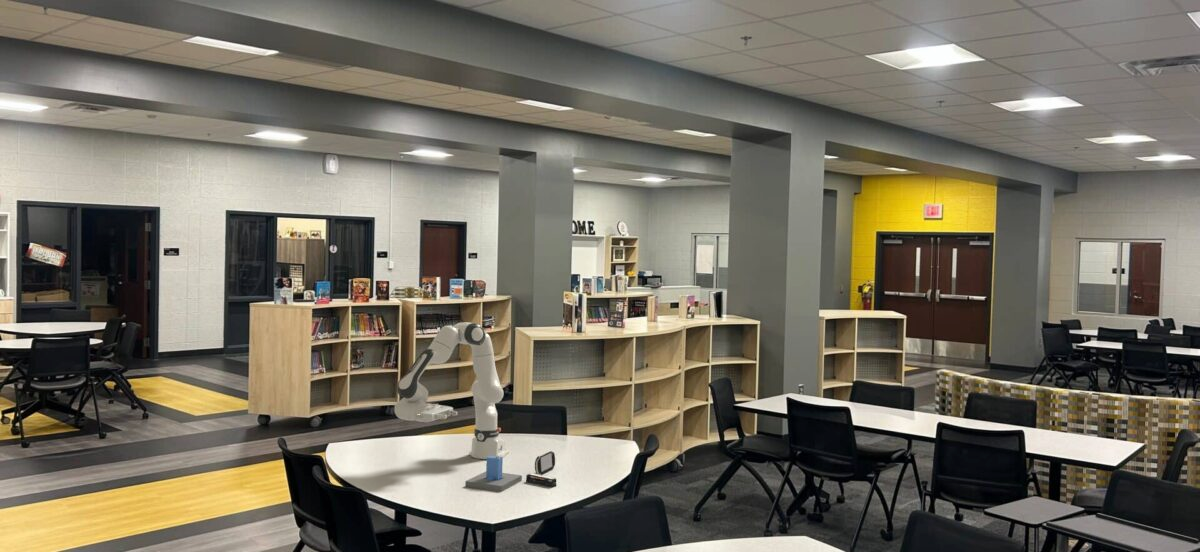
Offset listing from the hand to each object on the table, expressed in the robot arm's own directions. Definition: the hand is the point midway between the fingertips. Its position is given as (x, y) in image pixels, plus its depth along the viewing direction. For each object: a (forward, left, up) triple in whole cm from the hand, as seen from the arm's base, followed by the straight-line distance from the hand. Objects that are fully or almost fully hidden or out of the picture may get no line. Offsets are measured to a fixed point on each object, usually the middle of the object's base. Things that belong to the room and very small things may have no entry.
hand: (451, 415), depth 386 cm
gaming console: (-25, +37, -28) cm, 53 cm away
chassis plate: (+4, +25, -28) cm, 38 cm away
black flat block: (-4, +46, -29) cm, 54 cm away
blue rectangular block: (+4, +25, -28) cm, 38 cm away
